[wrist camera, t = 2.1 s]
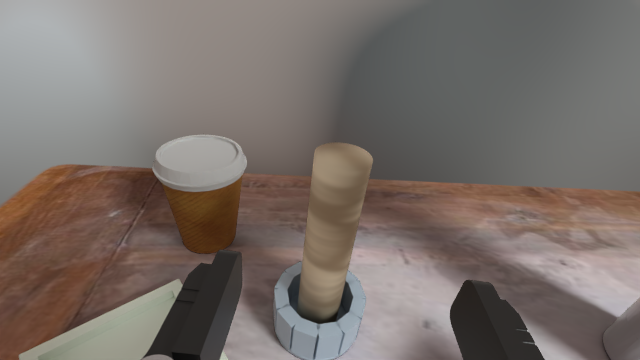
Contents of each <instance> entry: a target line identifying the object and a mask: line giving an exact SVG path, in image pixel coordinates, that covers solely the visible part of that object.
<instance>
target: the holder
mask: <svg viewBox="0 0 640 360" xmlns="http://www.w3.org/2000/svg"><path fill="white" fill-rule="evenodd" d="M301 270H302V262H301V261H300V262H298V263H296V264H295V265H293V266H291V267H289V268H288V269H286V270H285V272H283V273H282V275H281V277H280V278H279V280H278V282H277V284H276V286H275V289H274V305H273V315H274V328H275V332H276V335H277V337H278V339H279V341H280V343H281V344H282V345H283V347H284V348H285V349H286V350H287V351H288V352H290V353H291V354H292V355H294V356H295V357H297V358H300V359H302V360H334V359H336V358H338V357H340V356H342V355H343V354H344V353H345V352H347V350H348V349H349V348H350V347H351V346H352V344H353V343H354V341H355V340H356V337H357V333H358V330H359V327H360V323H361V320H362V316H363V312H364V307H365V303H366V296H365V294H364V291H363V288H362V286H361V283H360V281H359V280H358V278H357V277H356V276H355V275H353V274H352V273H351V272H350V271H349V270H348V272H347V276H346V280H345V285H344V289H343V294H342V298H341V302H340V307H339V311H338V316H337V320H336V322H331V323H324V324H317V323H314V322H311V321H309V320H306V319H303V318H301V317H300V316H299V315H298V314H297V306H298V297H299V288H300V279H301Z"/></svg>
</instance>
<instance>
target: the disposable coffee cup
mask: <svg viewBox="0 0 640 360" xmlns="http://www.w3.org/2000/svg"><path fill="white" fill-rule="evenodd" d="M246 166H247V159H246V157H245V155H244V154H243V152H242V149H241V147H240V145H239V144H237V143H236V142H234V141H233V140H230V139H228V138H224V137H221V136H214V135H192V136H185V137H181V138H177V139H174V140H172V141H170V142H167V143H165V144H164V145H162V146H161V147H160V148H159V149H158V150H157V152H156V158H155V161H154V163H153V172H154V174H155V176H156V177H157V178H158V179H159V180H160V182H162V185H163V188H164V191H165V192H166V193H165V194H166V196H167V199H168V201H169V204H170V207H171V209H172V212H173V215H174V218H175V221H176V224H177V226H178V229H179V232H180V234H181V237H182V240H183V243H184V245H185V246H186V247H187V248H188V249H189V250H191V251H193V252H196V253H205V254H207V253H214V252H218V251H219V250H222V249H224V248H226V247H227V246H229V245H230V244H231V243H232V242H233V240H234V238H235V233H236V224H237V216H238V208H239V199H240V191H241V182H242V174H243V173H244V170H245V168H246Z"/></svg>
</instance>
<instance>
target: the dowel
mask: <svg viewBox="0 0 640 360" xmlns="http://www.w3.org/2000/svg"><path fill="white" fill-rule="evenodd" d="M372 162H373V159H372V157H371V155H370V154H369V153H368V152H367V151H366V150H364V149H362V148H360V147H358V146H355V145H351V144H346V143H327V144H323V145H320V146H319V147H317V148H316V150H315V153H314V162H313V171H312V180H311V189H310V198H309V207H308V216H307V225H306V234H305V243H304V252H303V261H302V270H301V279H300V288H299V297H298V306H297V314H298V315H299V316H300V317H301V318H303V319H306V320H309V321H311V322H314V323H317V324H324V323H331V322H336V320H337V316H338V311H339V307H340V302H341V298H342V294H343V289H344V285H345V280H346V276H347V272H348V267H349V263H350V259H351V254H352V250H353V245H354V241H355V237H356V232H357V228H358V223H359V219H360V215H361V210H362V206H363V201H364V197H365V193H366V188H367V184H368V179H369V175H370V171H371V166H372Z"/></svg>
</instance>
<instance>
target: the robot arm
mask: <svg viewBox="0 0 640 360" xmlns="http://www.w3.org/2000/svg"><path fill="white" fill-rule="evenodd" d="M241 288H242V255H241V252H236V251H228V250H219V251H218V252H217V254H216V256H215V258H214V260H213V263H212V264H204V263H201V264H200V265H198V266H197V267H196V268H195V269H194V270H193V271H192V272H191V273H190V274H189V275H188V277H187V279H186V280H185V282H184V284H183V286H182V288H181V291H180V292H179V294H178V296H177V298H176V299H175V303H173V305H172V307H171V309H170V311H169V313H168V315H167V316H166V318H165V320H164V322H163V324H162V326H161V328H160V330H159V332H158V334H157V335H156V337H155V339H154V341H153V343H152V345H151V347H150V348H149V350H148V352H147V353H146V354H145V355H144V357H143V358H142V359H141V360H220V357H221V354H222V351H223V348H224V345H225V341H226V338H227V335H228V332H229V329H230V326H231V323H232V320H233V316H234V313H235V310H236V307H237V304H238V301H239V297H240V293H241ZM450 321H451V325H452V328H453V331H454V334H455V337H456V340H457V342H458V345H459V348H460V351H461V354H462V357H463V360H545V359H544V358H543V356H542V354H541V352H540V351H539V349H538V347H537V346H536V345H535V344H534V343H535V342H534V340H533V338H532V336H531V335H530V333H529V332H527V328H526V326H525V324H524V322H523V320H522V319H521V317H520V315H519V314H518V313H517V312H516V310H515V309H514V308H513V307H512V306H511V305H510V304H509V303H508V302H507V301H506V300H502V299H500V297H499V296H498V294H497V292H496V290H495V288H494V286H493V285H492V284H491V283H489V282H482V281H473V280H466V281H465V282H464V283H463V285H462V287H461V289H460V291H459V293H458V295H457V296H456V298H455V300H454V302H453V304H452V306H451V309H450ZM603 344H604V347H605V349H606V352H607V354H608V356H609V357H610V359H611V360H640V298H639V299H638V300H637V301H636V302H635V303H633V304H632V305H631V306H630V307H629V308H628V309H627V310H626V311H625V312H624V313H623V314H622V315H621V316H620V317H619V318H618V319H617V320H616V321H615V322H614V323H613V324H612V325H611V326H610V327H609V328H608V329H607V330H606V331H605V332H604V335H603Z"/></svg>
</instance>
